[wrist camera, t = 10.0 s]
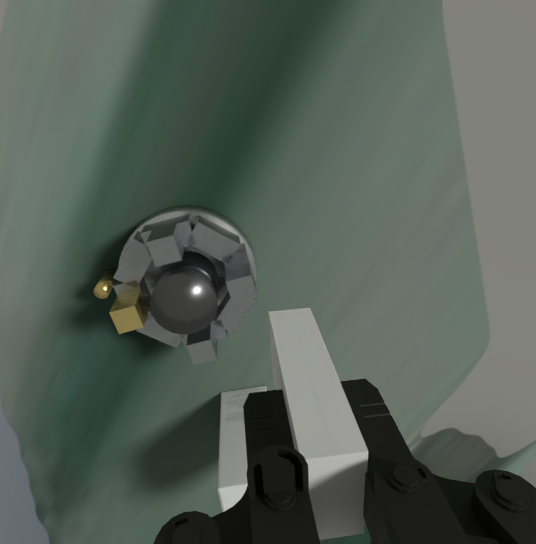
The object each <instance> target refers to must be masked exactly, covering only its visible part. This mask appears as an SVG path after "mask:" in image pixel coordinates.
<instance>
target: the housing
mask: <svg viewBox="0 0 536 544" xmlns="http://www.w3.org/2000/svg"><path fill="white" fill-rule="evenodd" d="M186 214H190V216H191V219H192V222H193V224H194V223H195V221H196V219H197V217H198V215H200V216H202V217H204V218H206V219H208V220H210V221H212V222H213V223H215V224H217V225H219V226H221V227H223V228H225V229H226V230H228V231H230V232H232V233H234V234H236V235H238V236H239V238H240V244H242V243H245V246H246V250H247V253H248V257H249V260H250V264H251V267H252V271H253V274H254V278H255V282H256V266H255V260H254V255H253V252H252V248H251V246H250V244H249V242H248V240H247V238H246V236H245V235H244V233H243V232H242V231H241V230H240V229H239V227H238V226H237V225H236V224H234V223H233V222H232V221H231V220H230V219H228V218H227V217H225V216H224V215H222V214H220V213H218V212H216V211H213V210H210V209H208V208H203V207H199V206H176V207H170V208H167V209H163V210H161V211H159V212H156V213H154V214H153V215H151V216H149V217H148V218H146V219H145V220H144V221H143V222H141V223H140V224H139V225H138V227H137V228H136V229H135V230H134V231H133V233H132V234H131V236H130V237H129V239H128V241H127V242H126V244H125V246H124V248H123V250H122V253H121V256H120V259H119V265H118V268H119V266H120V264H121V262H122V260H123V258H124V256H125V254H126V252H127V250H128V248H129V246H130V244H131V242H132V240H133V238H134V237H135V235H136V233H137V231H139V232H141V231H142V229H143V228H144V226H145V225H149V224H152V223H156V222H160V221H164V220H167V219H171V218H175V217H179V216H183V215H186ZM143 277H144V279H145V282H146V284H147V287H148V289H149V291H150V294H151V299H150V310H151V313H152V316H153V318H154V319H155V321H156V322H157V323H158V324H159V325H160V326H161V327H163V328H164V329H166V330H167V331H170V332H172V333H176V334H193V333H197V332H199V331H201V330H203V329H205V328H206V327H207V326H208V325H210V324H211V322H212V321H213V319H214V318H215V316H216V313H217V308H218V306H219V305H220V303H221V301H222V300H223V298H224V297H225V295H226V293H227V292H228V288H227V284H226V275H225V265H224V262H222V261H220V260H218V259H216V258H214V257H213V256H211V255H209V254H207V253H205V252H203V251H201V250H199V249H197V248H195V247H193V246H191V245H190V246H187V247H185V248H184V253H183V257H182V260H181V261H177V262H173V263H169V264H165V265H162V266H158V267H155V264H154V261H153V259H152V261H151V263H150V264H149V266H148V268H147V270H146V272H145V274H144V275H143Z"/></svg>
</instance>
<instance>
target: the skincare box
mask: <svg viewBox="0 0 536 544" xmlns="http://www.w3.org/2000/svg"><path fill="white" fill-rule="evenodd" d="M263 391H267V389H266V386H259V387H253V388H247V389H240V390H234V391H227V392H222V393H221V409H220V435H219V464H218V493H219V498H220V503H221V508H222V512H224V511H226V510H228V509H229V508H231V507H233V506H234V505H235V504H236V503H237V502H238V501H239V500H240V499H241V498H242V496H243V495H244V493H245V491H246V488H247V485H248V483H247V474H246V473H247V467H248V466H247V452H246V438H245V425H244V411H243V405H244V403H245V401H246V399H247V397H248V395H249V393H254V392H263Z"/></svg>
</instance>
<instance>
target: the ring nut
mask: <svg viewBox="0 0 536 544" xmlns="http://www.w3.org/2000/svg"><path fill="white" fill-rule="evenodd" d="M190 245H191V246H193V247H195V248H197V249H199V250H201V251H203V252H205V253H207V254H209V255H211V256H213V257H214V258H216V259H218V260H220V261H222V262H224V265H225V275H226V284H227V288H228V292H227V293H226V295H225V297H224V298H223V300H222V301H221V303H220V305H219V306H218V308H217V313H216V316H215V318H214V319H213V321H212V322H211V324H210V325H208V326H207V327H206V328H205V329H203V330H201V331H199V332H197V333H193V334H176V333H172V332H170V331H167V330H166V329H164V328H163V327H161V326H160V325H159V324H158V323H157V322H156V321H155V319H154V318H153V316H152V313H151V310H150V299H151V294H150V291H149V289H148V287H147V284H146V282H145V279H144V277H143V275H144V274H145V272H146V270H147V268H148V266H149V264H150V263H151V261H152V259H153V261H154V264H155V267H158V266H162V265H165V264H169V263H173V262H177V261H181V260H182V257H183V253H184V248H185V247H187V246H190ZM113 278H114V279H116V282H115V283H114V285H113V287H114V290H115V292H116V294H117V297H116V300H115V302H114V304H113V306H112V308H111V310H110V312H109V313H110V316H111V318H112V320H113V322H114V324H115V326H116V328H117V331H118V333H119V334H121V333H125V332H129V331H132V330H136V329H137V331H138V332H140V333H142V334H145V335H147V336H149V337H152V338H154V339H156V340H159V341H161V342H163V343H166V344H168V345H170V346H173V347H175V348H178V346H179V345H180V343H181V341H183V344H184V346H185V349H188V352H189V354H190V357H191V359H192V362H193V365H197V364H201V363H205V362H209V361H212V360H216V359H217V341H218V340H222V339H226V338H227V330H228V331H230V332H232V333H235V331H236V330H237V328H238V327H239V325H240V323H241V322H242V320H243V319H244V317H245V316H246V314H247V313H248V311H249V310H250V308H251V307H252V305H253V304H254V302H255V300H256V298H257V287H256V282H255V278H254V274H253V271H252V267H251V264H250V260H249V257H248V253H247V250H246V246H245V243H242V244H240V238H239V236H238V235H236V234H234V233H232V232H230V231H228V230H226V229H225V228H223V227H221V226H219V225H217V224H215V223H213V222H212V221H210V220H208V219H206V218H204V217H202V216H200V215H198V217H197V219H196V221H195V223H194V224H193V222H192V219H191V216H190V214H186V215H183V216H179V217H175V218H171V219H167V220H164V221H160V222H156V223H152V224H149V225H145V226H144V228H143V229H142V231H141V232H139V231H137V233H136V235H135V237H134V238H133V240H132V242H131V244H130V246H129V248H128V250H127V252H126V254H125V256H124V258H123V260H122V262H121V264H120V266H119V268H118V269H117V271H116V273H115V275H114V277H113Z"/></svg>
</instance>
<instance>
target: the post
mask: <svg viewBox="0 0 536 544" xmlns="http://www.w3.org/2000/svg"><path fill="white" fill-rule="evenodd" d="M115 273H116V272H115V271H113V270H107V271H105V272H104V274H103V275H102V277H101V279H100V280H99V282H98V283H97V285H96V287H95V288H94V294H95V296H96V297H98V298H101V299H104V298H107V297H108V296H109V294H110V292H111V290H112V288H113V285H114V283H115V282H116V279H114V278H113V277H114V275H115Z"/></svg>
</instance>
